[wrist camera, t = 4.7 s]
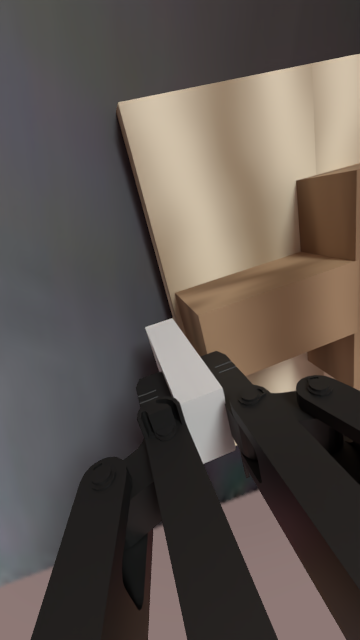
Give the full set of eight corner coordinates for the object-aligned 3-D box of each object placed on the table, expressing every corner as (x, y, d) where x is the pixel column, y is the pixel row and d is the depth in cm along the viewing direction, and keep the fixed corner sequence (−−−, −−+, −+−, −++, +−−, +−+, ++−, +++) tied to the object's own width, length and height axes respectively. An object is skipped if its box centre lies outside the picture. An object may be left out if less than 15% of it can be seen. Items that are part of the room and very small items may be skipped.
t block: (203, 402, 19) (228, 445, 15) (155, 219, 14) (176, 220, 11) (353, 342, 21) (407, 368, 17) (356, 163, 16) (431, 148, 13)
